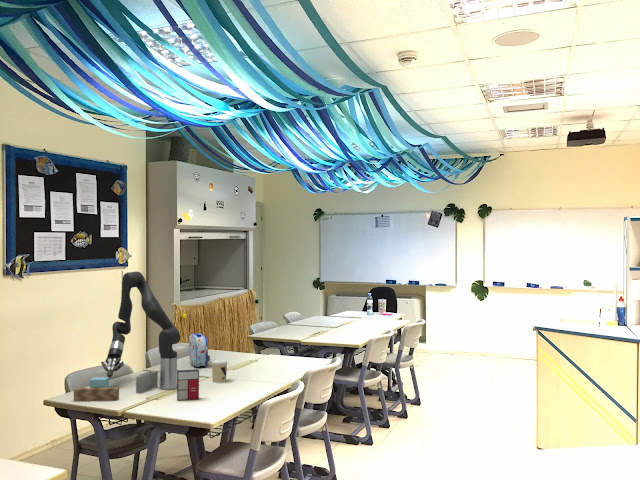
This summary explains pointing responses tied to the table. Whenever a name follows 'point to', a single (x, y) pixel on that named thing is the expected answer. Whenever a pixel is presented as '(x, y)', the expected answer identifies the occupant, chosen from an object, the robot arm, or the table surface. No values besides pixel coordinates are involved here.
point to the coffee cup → (219, 370)
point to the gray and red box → (187, 384)
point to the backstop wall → (96, 394)
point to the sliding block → (99, 382)
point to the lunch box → (198, 350)
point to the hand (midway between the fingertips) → (109, 376)
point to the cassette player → (146, 381)
